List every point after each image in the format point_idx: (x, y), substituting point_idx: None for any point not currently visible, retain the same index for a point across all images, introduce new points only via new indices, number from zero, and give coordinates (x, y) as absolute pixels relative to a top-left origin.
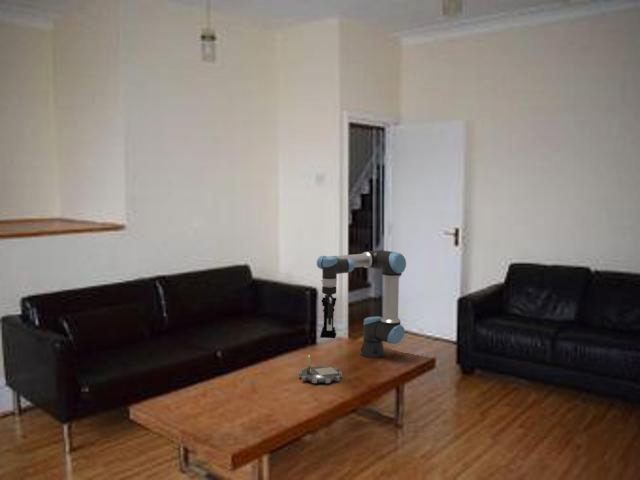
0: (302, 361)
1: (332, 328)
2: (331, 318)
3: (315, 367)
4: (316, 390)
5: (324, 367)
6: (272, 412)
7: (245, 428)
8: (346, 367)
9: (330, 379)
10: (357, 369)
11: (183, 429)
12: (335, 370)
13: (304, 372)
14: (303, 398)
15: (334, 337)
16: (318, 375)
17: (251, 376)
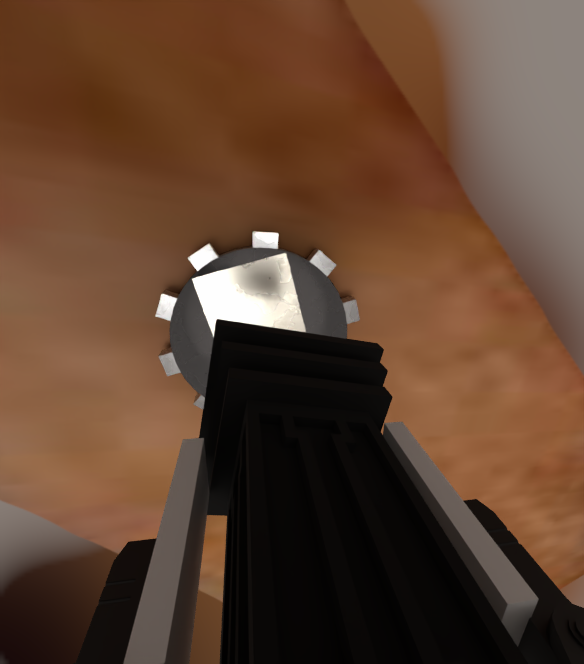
0: (15, 396)
1: (375, 425)
2: (567, 614)
3: (189, 355)
4: (392, 350)
5: (187, 313)
6: (521, 467)
7: (580, 508)
8: (86, 172)
9: (355, 299)
10: (117, 107)
11: None
12: (247, 263)
13: None
14: (452, 393)
15: (377, 354)
16: None
17: None
